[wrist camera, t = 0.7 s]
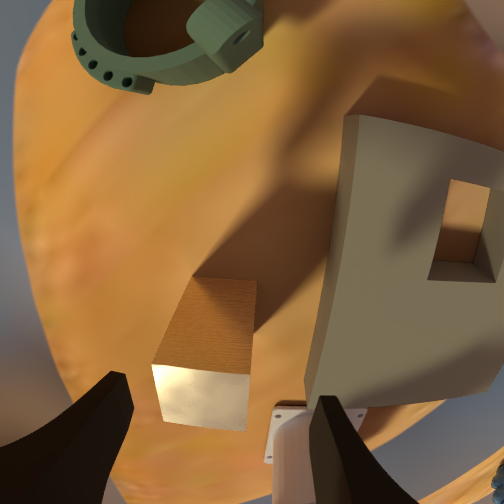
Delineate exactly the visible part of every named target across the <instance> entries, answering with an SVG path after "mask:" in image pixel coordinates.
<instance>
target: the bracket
mask: <svg viewBox="0 0 504 504" xmlns="http://www.w3.org/2000/svg"><path fill="white" fill-rule="evenodd" d="M133 1H134V0H75V1H74V8H73V25H74V29H75V31H73V32H72V34H71V38H72V44H73V48H74V51H75V54H76V56H77V58H78V60H79V62H80V63H81V65H82V66H83V68H84V69H85V70H86V71H87V72H88V73H89V74H90V75H91V76H92V77H94V78H95V79H96V80H98V81H99V82H101V83H103V84H105V85H108V86H110V87H112V88H116V89H120V90H125V91H130V92H135V93H140V94H145V95H149V94H151V93H152V90H153V87H154V84H155V82H157V83H161V84H166V85H179V86H185V85H192V84H198V83H201V82H205V81H208V80H211V79H213V78H216V77H218V76H220V75H222V74H224V73H232V72H234V71H235V70H236V69H237V68H239V67H240V66H241V65H242V64H243V63H244V62H246V61H247V60H248V59H249V58H250V57H252V56H253V55H254V54H255V53H257V52H258V51H259V50H260V49H261V48H262V47H263V45H264V42H263V26H262V25H263V19H264V11H263V0H206V1H205V2H204V3H202V4H201V5H200V6H199V7H198V8H197V9H196V10H195V11H194V13H193V14H192V15H191V16H190V18H189V20H188V21H187V24H186V29H187V32H188V34H189V36H190V37H191V38H192V39H193V40H194V41H195V43H193V44H190V45H188V46H186V47H184V48H182V49H180V50H177V51H174V52H171V53H168V54H165V55H159V56H153V57H131V56H130V54H129V53H128V50H127V48H126V45H125V40H124V23H125V19H126V16H127V13H128V10H129V8H130V6H131V4H132V2H133Z"/></svg>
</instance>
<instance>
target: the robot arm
mask: <svg viewBox="0 0 504 504" xmlns="http://www.w3.org/2000/svg"><path fill="white" fill-rule="evenodd" d="M133 411H134V405H133V401H132V398H131V394H130V390H129V386H128V382H127V379H126V375H125V374H124V373H119V372H115V371H110V372H109V373H108V374H107V375H106V376H104V377H103V378H102V379H101V380H100V381H99V382H98V383H97V384H96V385H95V386H93V387H92V388H91V389H90V390H89V391H88V392H87V393H86V394H84V395H83V396H82V397H81V398H80V399H79V400H77V401H76V402H75V403H74V404H73V405H72V406H71V407H69V408H68V409H66V410H65V411H64V412H63V413H62V414H60V415H59V416H57V417H56V418H55V419H53V420H52V421H50V422H49V423H47V424H46V425H44V426H43V427H41V428H40V429H38V430H36V431H34V432H33V433H31V434H29V435H27V436H25V437H23V438H21V439H19V440H17V441H15V442H13V443H10V444H8V445H6V446H3V447H0V504H101V503H102V499H103V495H104V491H105V487H106V483H107V480H108V477H109V474H110V471H111V469H112V467H113V464H114V462H115V460H116V457H117V455H118V452H119V450H120V448H121V445H122V443H123V441H124V438H125V436H126V434H127V431H128V429H129V425H130V422H131V418H132V414H133ZM367 411H368V409H367V408H348V409H343V407H342V405H341V403H340V401H339V399H338V397H337V396H336V395H319V398H318V402H317V405H316V408H315V409H307V407H305V406H276V407H274V408H273V410H272V416H271V422H270V428H269V433H268V439H267V445H266V450H265V455H264V462H265V463H267V464H273V481H272V504H419V503H418V502H417V501H416V500H414V499H413V498H412V497H411V496H410V495H409V494H408V493H406V492H405V491H404V490H403V489H402V488H401V487H400V486H399V485H398V484H397V483H396V482H395V481H394V480H393V479H392V478H391V477H390V476H389V475H388V474H387V472H386V471H385V470H384V469H383V468H382V467H381V465H380V464H379V463H378V461H377V460H376V459H375V458H374V456H373V455H372V453H371V452H370V451H369V449H368V448H367V446H366V445H365V444H364V442H363V441H362V439H361V437H360V436H359V434H358V433H357V432H358V430H359V428H360V426H361V424H362V422H363V420H364V418H365V415H366V413H367Z"/></svg>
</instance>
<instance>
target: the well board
mask: <svg viewBox="0 0 504 504" xmlns="http://www.w3.org/2000/svg"><path fill="white" fill-rule="evenodd" d="M450 179H455V180H459V181H464V182H468V183H472V184H477V185H481V186H485V187H489V188H491V189H490V195H489V200H488V205H487V210H486V214H485V219H484V223H483V227H482V232H481V236H480V239H479V243H478V247H477V251H476V254H475V258H474V261H473V263H463V262H450V261H437V260H433V257H434V253H435V249H436V245H437V241H438V237H439V232H440V228H441V223H442V219H443V214H444V209H445V204H446V198H447V193H448V187H449V181H450ZM503 363H504V151H502V150H499V149H496V148H493V147H490V146H487V145H484V144H481V143H478V142H475V141H471V140H468V139H465V138H462V137H458V136H455V135H451V134H447V133H444V132H440V131H436V130H432V129H428V128H424V127H420V126H416V125H411V124H407V123H402V122H398V121H393V120H388V119H383V118H378V117H372V116H366V115H361V114H358V115H348V116H344V125H343V136H342V147H341V157H340V167H339V176H338V185H337V193H336V201H335V209H334V217H333V224H332V231H331V238H330V245H329V251H328V258H327V264H326V270H325V276H324V282H323V287H322V293H321V299H320V304H319V310H318V315H317V320H316V325H315V330H314V335H313V340H312V345H311V350H310V354H309V359H308V364H307V368H306V373H305V377H304V384H305V393H306V403H307V409H315V408H316V405H317V402H318V398H319V395H336V396H337V397H338V399H339V401H340V403H341V405H342V407H343V409H348V408H369V407H383V406H395V405H405V404H414V403H422V402H430V401H437V400H444V399H450V398H456V397H462V396H467V395H472V394H477V393H482V392H486V391H487V390H488V389H489V387H490V386H491V384H492V382H493V381H494V379H495V377H496V375H497V374H498V372H499V370H500V369H501V366H502V365H503Z"/></svg>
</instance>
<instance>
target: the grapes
mask: <svg viewBox="0 0 504 504" xmlns="http://www.w3.org/2000/svg"><path fill="white" fill-rule="evenodd" d="M491 487H492V488H494V489H496V490H495V491H494V493H493V497H492V500H493V502H494V503H495V504H504V465H502V466H500V467H499V468H498V469H497V472H496V475H495V476H494V477H493V480H492V484H491Z"/></svg>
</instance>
